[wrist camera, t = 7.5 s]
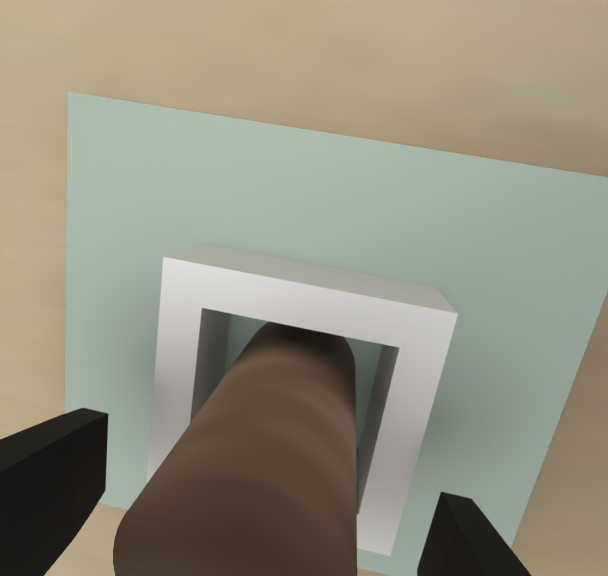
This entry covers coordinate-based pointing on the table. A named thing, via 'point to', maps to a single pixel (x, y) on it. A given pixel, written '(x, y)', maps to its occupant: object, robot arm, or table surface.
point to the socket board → (331, 298)
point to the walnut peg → (257, 471)
